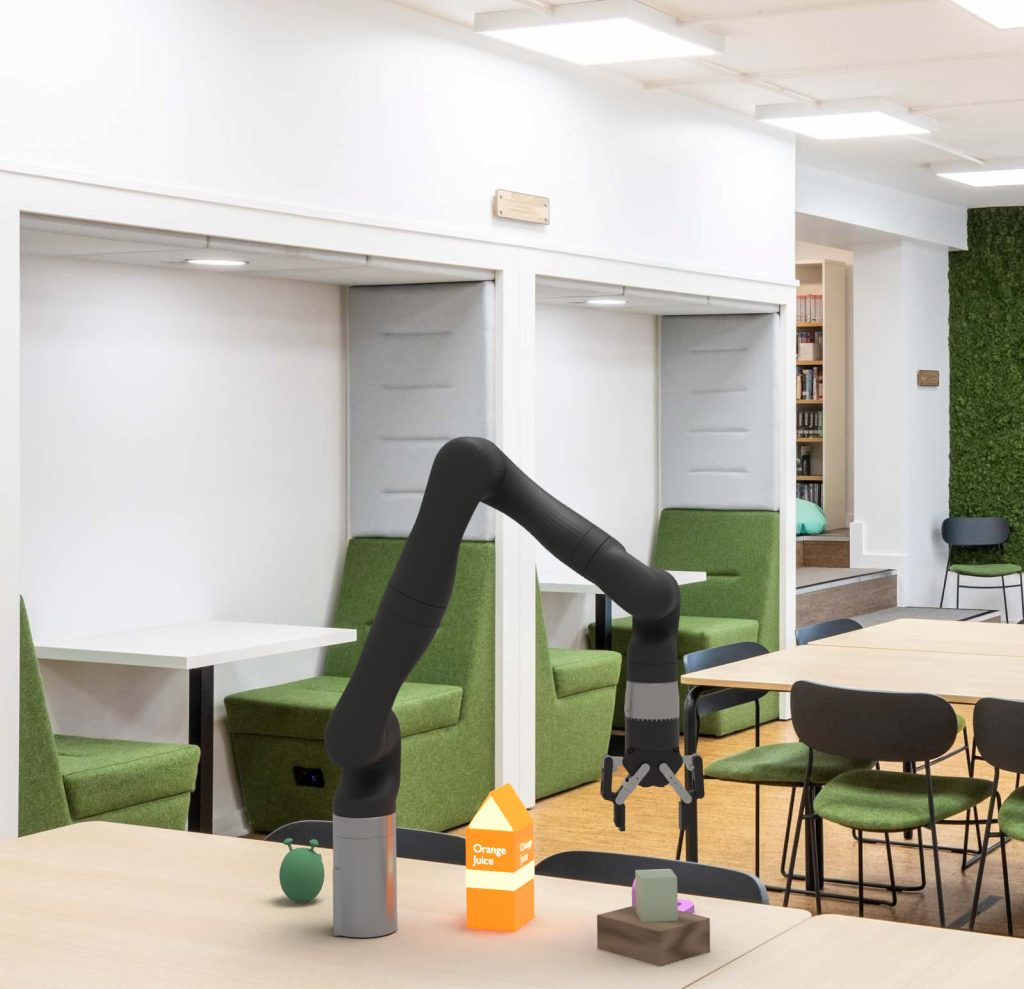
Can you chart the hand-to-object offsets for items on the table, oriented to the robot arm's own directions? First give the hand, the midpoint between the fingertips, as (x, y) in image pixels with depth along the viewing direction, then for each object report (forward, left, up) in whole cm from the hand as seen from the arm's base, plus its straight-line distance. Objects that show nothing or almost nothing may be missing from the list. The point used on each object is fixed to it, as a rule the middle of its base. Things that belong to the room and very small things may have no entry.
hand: (652, 829), depth 225 cm
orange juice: (-20, +17, -17) cm, 31 cm away
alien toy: (-50, +33, -17) cm, 62 cm away
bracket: (+5, +17, -17) cm, 24 cm away
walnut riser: (0, 0, -17) cm, 17 cm away
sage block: (0, 0, -12) cm, 12 cm away
